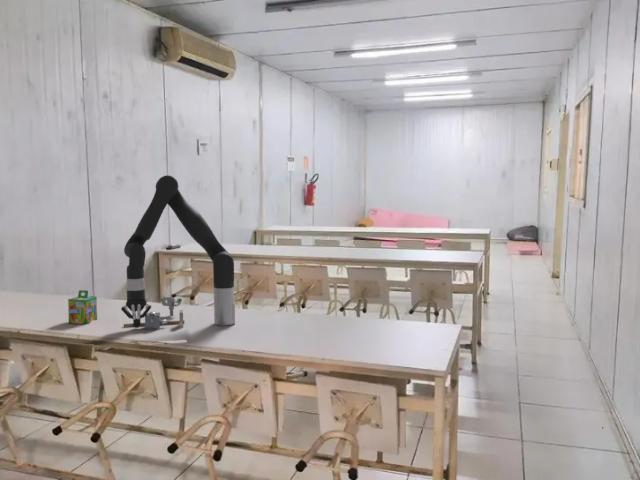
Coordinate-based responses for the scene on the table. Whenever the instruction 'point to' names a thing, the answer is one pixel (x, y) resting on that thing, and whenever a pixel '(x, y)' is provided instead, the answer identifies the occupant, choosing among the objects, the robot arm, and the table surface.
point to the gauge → (153, 321)
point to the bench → (164, 323)
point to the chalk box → (82, 308)
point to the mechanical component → (170, 303)
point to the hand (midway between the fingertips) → (137, 327)
